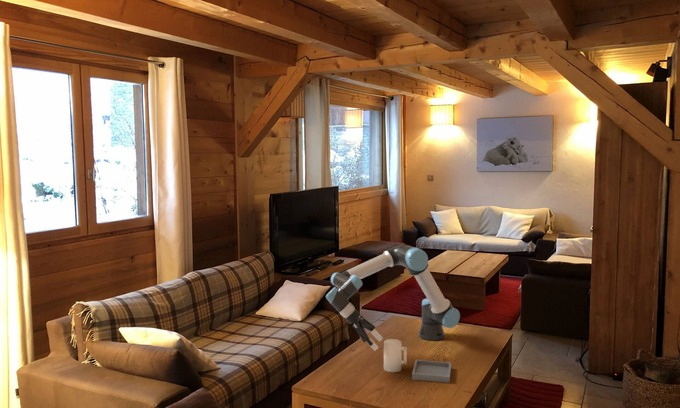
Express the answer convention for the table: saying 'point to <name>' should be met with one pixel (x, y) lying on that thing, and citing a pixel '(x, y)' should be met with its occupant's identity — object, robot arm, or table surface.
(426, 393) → the table surface
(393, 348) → the white pitcher
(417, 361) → the slate tray
